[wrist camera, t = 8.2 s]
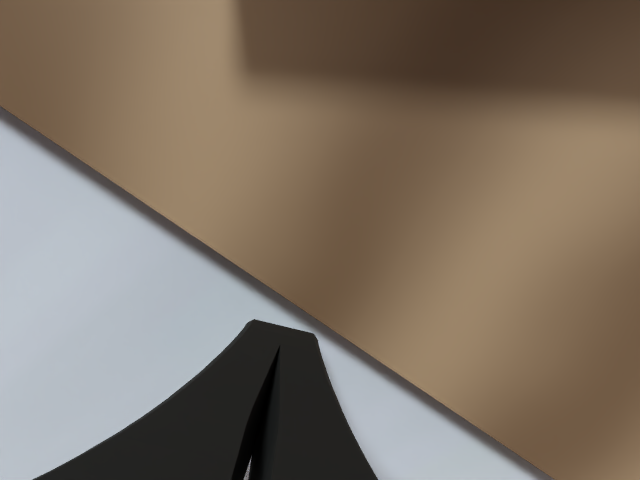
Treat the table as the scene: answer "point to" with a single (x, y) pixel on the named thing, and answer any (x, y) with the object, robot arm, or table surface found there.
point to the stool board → (388, 181)
